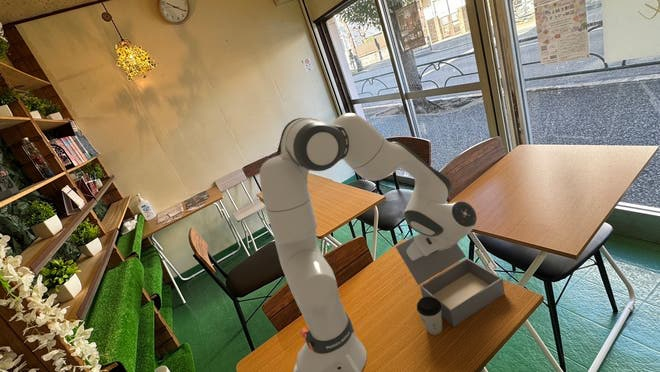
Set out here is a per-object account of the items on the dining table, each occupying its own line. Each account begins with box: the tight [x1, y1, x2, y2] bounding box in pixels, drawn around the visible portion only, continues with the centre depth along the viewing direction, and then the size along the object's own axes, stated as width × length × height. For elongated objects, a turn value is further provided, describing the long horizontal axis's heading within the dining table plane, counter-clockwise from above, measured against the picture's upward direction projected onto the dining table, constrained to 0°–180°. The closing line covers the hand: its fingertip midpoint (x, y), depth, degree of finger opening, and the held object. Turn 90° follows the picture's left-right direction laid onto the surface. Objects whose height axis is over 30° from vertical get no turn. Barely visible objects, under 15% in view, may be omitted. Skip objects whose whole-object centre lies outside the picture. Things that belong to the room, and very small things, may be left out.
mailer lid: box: [395, 234, 467, 286], centre depth 106 cm, size 20×14×1 cm
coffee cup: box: [416, 297, 443, 336], centre depth 90 cm, size 7×7×10 cm
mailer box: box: [419, 257, 506, 328], centre depth 98 cm, size 20×14×6 cm
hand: (428, 247), depth 106 cm, fingers closed, pressing on mailer lid
